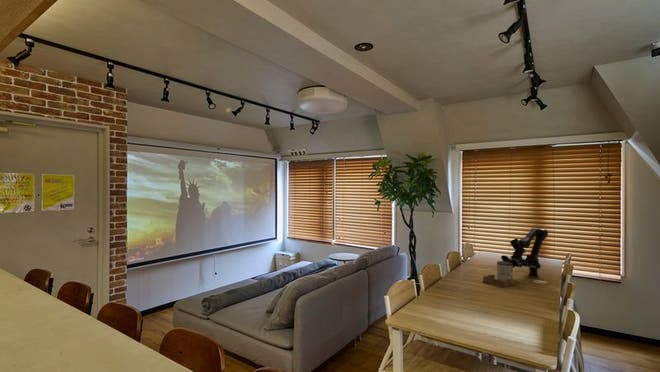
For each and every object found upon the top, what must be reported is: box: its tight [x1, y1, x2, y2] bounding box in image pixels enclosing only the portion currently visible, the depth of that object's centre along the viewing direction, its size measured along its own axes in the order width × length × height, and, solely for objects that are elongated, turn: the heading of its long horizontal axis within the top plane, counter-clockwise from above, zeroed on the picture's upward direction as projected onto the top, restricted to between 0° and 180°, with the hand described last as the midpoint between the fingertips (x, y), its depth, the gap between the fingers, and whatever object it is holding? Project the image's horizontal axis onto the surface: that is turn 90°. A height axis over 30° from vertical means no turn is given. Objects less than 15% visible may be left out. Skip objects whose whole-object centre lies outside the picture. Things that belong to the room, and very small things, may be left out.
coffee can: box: [496, 260, 514, 281], centre depth 238 cm, size 10×10×14 cm
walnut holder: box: [482, 273, 515, 288], centre depth 235 cm, size 11×16×4 cm
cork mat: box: [531, 279, 549, 286], centre depth 234 cm, size 10×10×1 cm
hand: (509, 269), depth 241 cm, fingers closed, pressing on coffee can
